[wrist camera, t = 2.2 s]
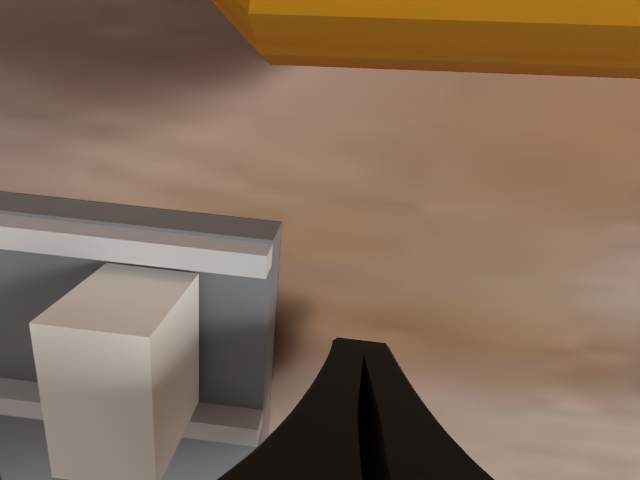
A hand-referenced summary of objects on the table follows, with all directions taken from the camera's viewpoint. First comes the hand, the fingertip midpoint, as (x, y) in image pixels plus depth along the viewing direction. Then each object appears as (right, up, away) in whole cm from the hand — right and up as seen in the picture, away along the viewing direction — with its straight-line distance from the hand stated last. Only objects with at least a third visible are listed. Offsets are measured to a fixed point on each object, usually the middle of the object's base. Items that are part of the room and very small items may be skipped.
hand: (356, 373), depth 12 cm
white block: (-5, +1, +1) cm, 6 cm away
